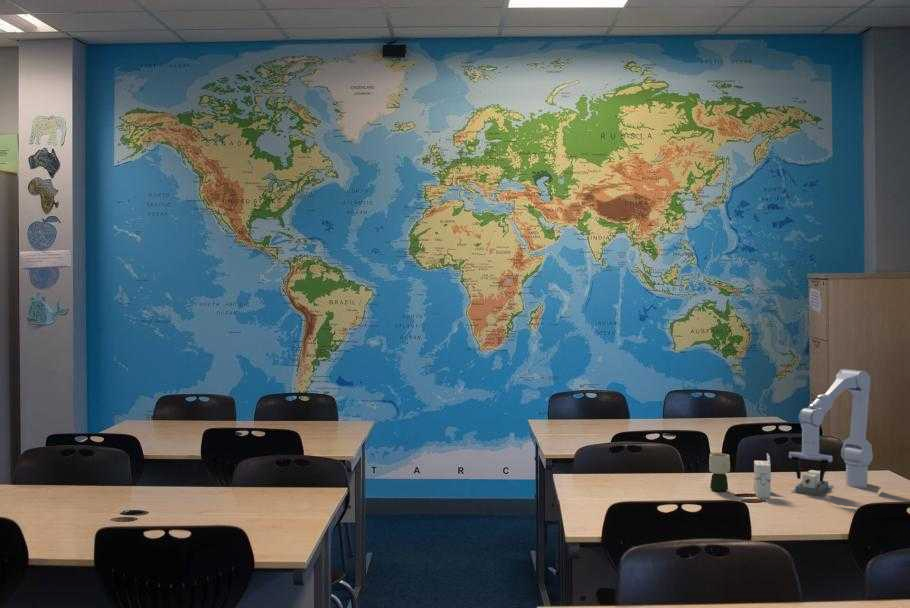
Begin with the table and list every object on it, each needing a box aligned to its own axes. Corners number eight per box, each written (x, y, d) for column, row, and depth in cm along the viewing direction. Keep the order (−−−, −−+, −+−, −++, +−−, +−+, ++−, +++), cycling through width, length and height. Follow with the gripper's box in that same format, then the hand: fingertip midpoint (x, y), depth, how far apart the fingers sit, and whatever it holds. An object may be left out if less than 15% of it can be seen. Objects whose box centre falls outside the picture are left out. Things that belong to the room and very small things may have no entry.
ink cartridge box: (753, 492, 328) (753, 451, 328) (767, 493, 327) (768, 452, 327) (756, 497, 320) (756, 456, 319) (770, 498, 319) (771, 456, 318)
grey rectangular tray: (803, 484, 340) (803, 476, 340) (834, 488, 334) (834, 480, 334) (790, 495, 324) (790, 486, 324) (823, 499, 318) (823, 490, 318)
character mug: (737, 492, 327) (737, 457, 327) (721, 494, 324) (721, 458, 324) (717, 486, 337) (717, 451, 337) (701, 488, 334) (702, 453, 334)
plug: (805, 489, 328) (805, 473, 328) (817, 491, 326) (817, 474, 325) (800, 493, 322) (801, 477, 321) (812, 495, 319) (812, 478, 319)
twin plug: (811, 484, 336) (811, 468, 336) (822, 486, 334) (823, 470, 334) (807, 488, 330) (807, 472, 330) (818, 490, 328) (818, 473, 328)
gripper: (786, 441, 325) (786, 479, 325) (829, 445, 317) (829, 484, 317) (791, 438, 331) (791, 475, 331) (833, 442, 323) (833, 480, 323)
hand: (810, 479), depth 325 cm, fingers open, 7 cm apart
